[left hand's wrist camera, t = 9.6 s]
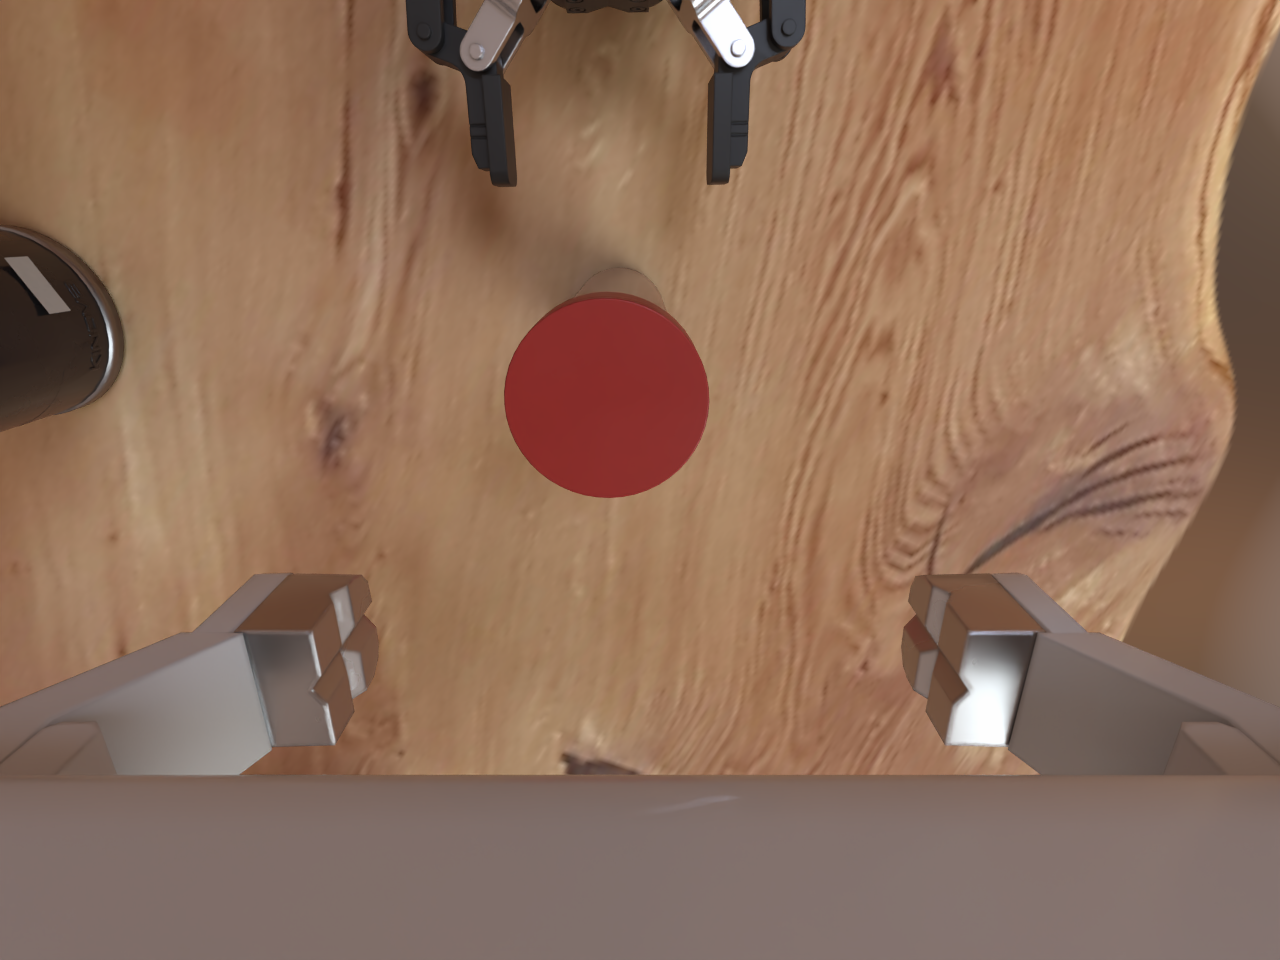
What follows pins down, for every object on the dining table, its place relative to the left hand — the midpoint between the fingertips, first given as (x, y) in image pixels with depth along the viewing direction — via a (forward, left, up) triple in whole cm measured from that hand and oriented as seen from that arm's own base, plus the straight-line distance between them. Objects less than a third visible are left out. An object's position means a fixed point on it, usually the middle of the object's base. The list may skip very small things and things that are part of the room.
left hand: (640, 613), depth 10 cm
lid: (0, +1, -9) cm, 9 cm away
